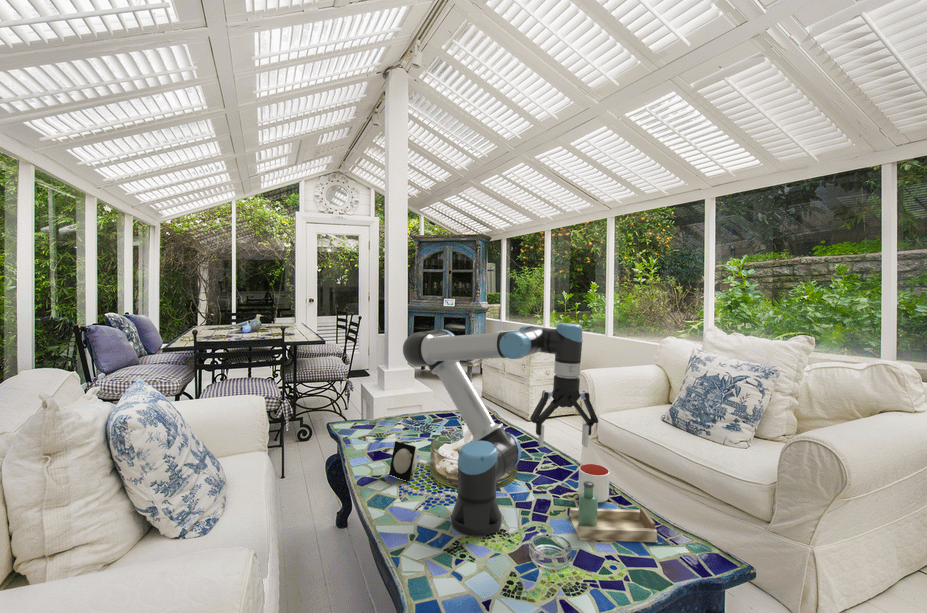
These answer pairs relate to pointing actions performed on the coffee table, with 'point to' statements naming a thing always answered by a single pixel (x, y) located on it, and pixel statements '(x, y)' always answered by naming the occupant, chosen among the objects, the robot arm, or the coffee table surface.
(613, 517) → the wooden tray
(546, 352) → the robot arm
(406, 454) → the decorative object
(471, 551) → the coffee table surface
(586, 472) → the cup
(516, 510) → the coffee table surface
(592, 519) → the bottle
